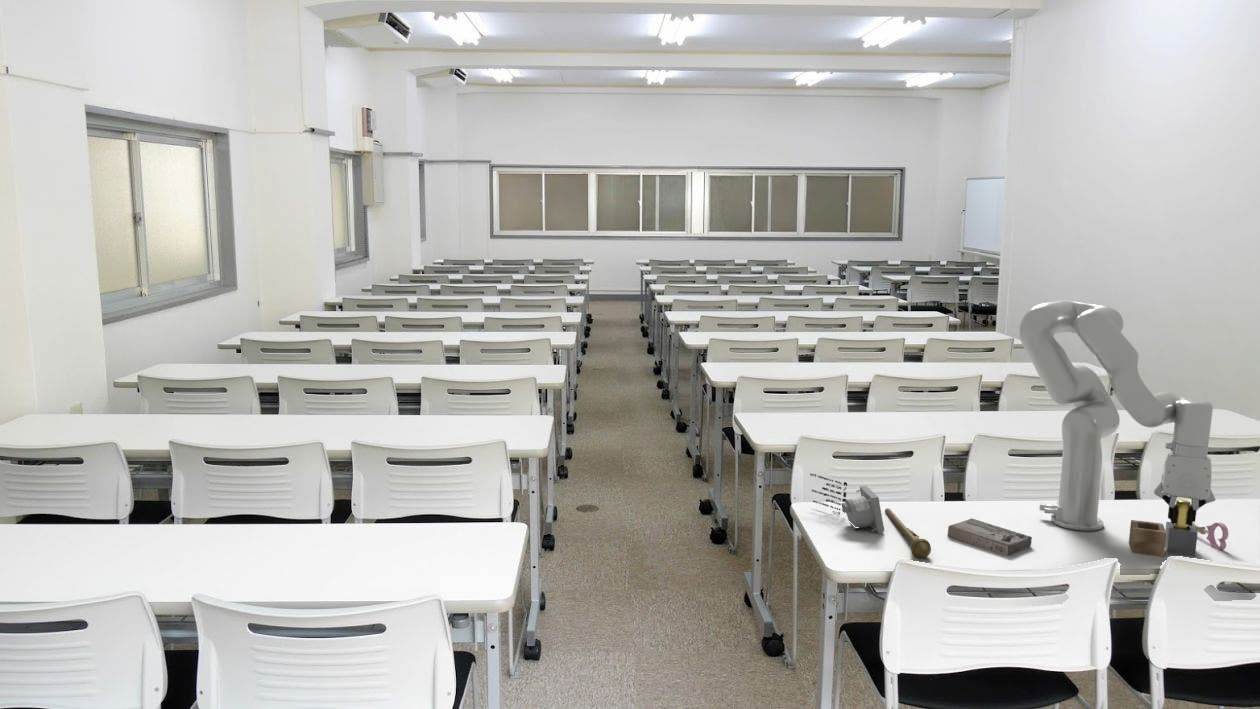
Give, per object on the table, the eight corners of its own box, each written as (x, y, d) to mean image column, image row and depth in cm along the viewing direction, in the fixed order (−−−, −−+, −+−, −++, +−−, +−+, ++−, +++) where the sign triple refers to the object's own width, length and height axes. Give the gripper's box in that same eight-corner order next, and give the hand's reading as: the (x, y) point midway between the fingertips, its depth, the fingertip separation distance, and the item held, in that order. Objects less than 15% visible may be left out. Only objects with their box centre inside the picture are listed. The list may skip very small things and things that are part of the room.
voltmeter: (896, 529, 253) (898, 492, 252) (870, 539, 246) (872, 501, 244) (816, 503, 273) (817, 469, 272) (789, 512, 266) (790, 477, 264)
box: (970, 528, 255) (971, 517, 254) (1032, 548, 242) (1033, 536, 241) (945, 537, 249) (946, 525, 248) (1008, 557, 235) (1009, 545, 235)
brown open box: (1131, 552, 238) (1133, 528, 237) (1128, 542, 244) (1131, 519, 243) (1163, 556, 235) (1166, 532, 234) (1160, 546, 242) (1162, 523, 241)
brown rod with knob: (877, 518, 266) (895, 520, 266) (913, 561, 231) (933, 563, 231) (880, 501, 266) (897, 503, 266) (916, 541, 231) (936, 544, 231)
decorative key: (1175, 536, 258) (1228, 551, 238) (1171, 536, 258) (1223, 551, 238) (1175, 510, 258) (1228, 524, 238) (1171, 511, 257) (1223, 524, 238)
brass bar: (1171, 549, 239) (1177, 502, 237) (1170, 545, 242) (1175, 499, 239) (1185, 551, 238) (1191, 504, 236) (1184, 547, 240) (1189, 500, 238)
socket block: (1166, 552, 238) (1169, 529, 237) (1163, 544, 243) (1166, 521, 242) (1195, 556, 236) (1197, 532, 235) (1191, 547, 241) (1193, 524, 240)
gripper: (1153, 450, 235) (1145, 523, 238) (1231, 458, 229) (1222, 532, 232) (1149, 442, 242) (1141, 513, 245) (1225, 450, 236) (1216, 522, 239)
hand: (1181, 522), depth 238 cm, fingers closed on brass bar, 3 cm apart
